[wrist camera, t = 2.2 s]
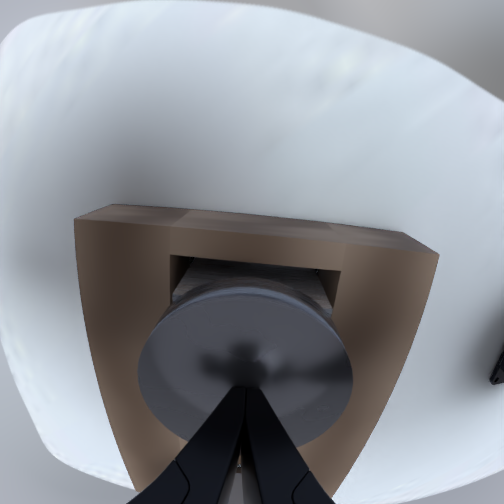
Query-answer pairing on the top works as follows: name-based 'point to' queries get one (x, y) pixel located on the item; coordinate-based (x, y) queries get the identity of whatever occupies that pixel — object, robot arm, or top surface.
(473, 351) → the top surface
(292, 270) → the charcoal plunger
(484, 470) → the top surface
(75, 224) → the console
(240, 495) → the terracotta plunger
